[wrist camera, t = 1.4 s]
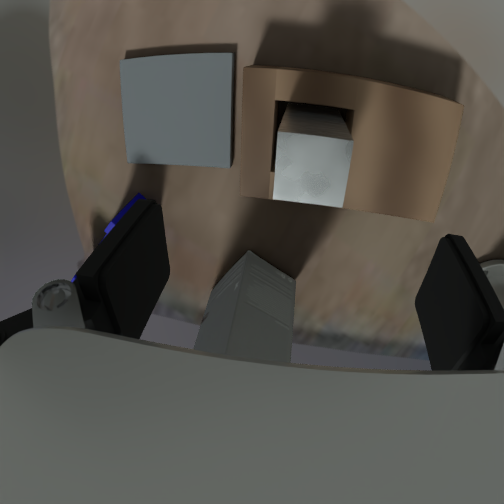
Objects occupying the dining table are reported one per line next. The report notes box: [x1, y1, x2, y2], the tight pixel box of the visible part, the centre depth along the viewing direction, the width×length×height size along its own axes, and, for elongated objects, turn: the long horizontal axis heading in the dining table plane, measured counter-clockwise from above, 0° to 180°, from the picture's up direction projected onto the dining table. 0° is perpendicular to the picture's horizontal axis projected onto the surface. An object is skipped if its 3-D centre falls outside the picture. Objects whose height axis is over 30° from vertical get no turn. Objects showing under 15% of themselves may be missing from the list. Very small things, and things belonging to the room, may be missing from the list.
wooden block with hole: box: [240, 65, 464, 223], centre depth 23 cm, size 16×10×4 cm, turn 88°
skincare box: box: [193, 250, 296, 363], centre depth 30 cm, size 8×7×16 cm
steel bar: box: [273, 103, 354, 208], centre depth 21 cm, size 4×4×10 cm
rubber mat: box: [120, 53, 234, 168], centre depth 25 cm, size 10×10×1 cm
